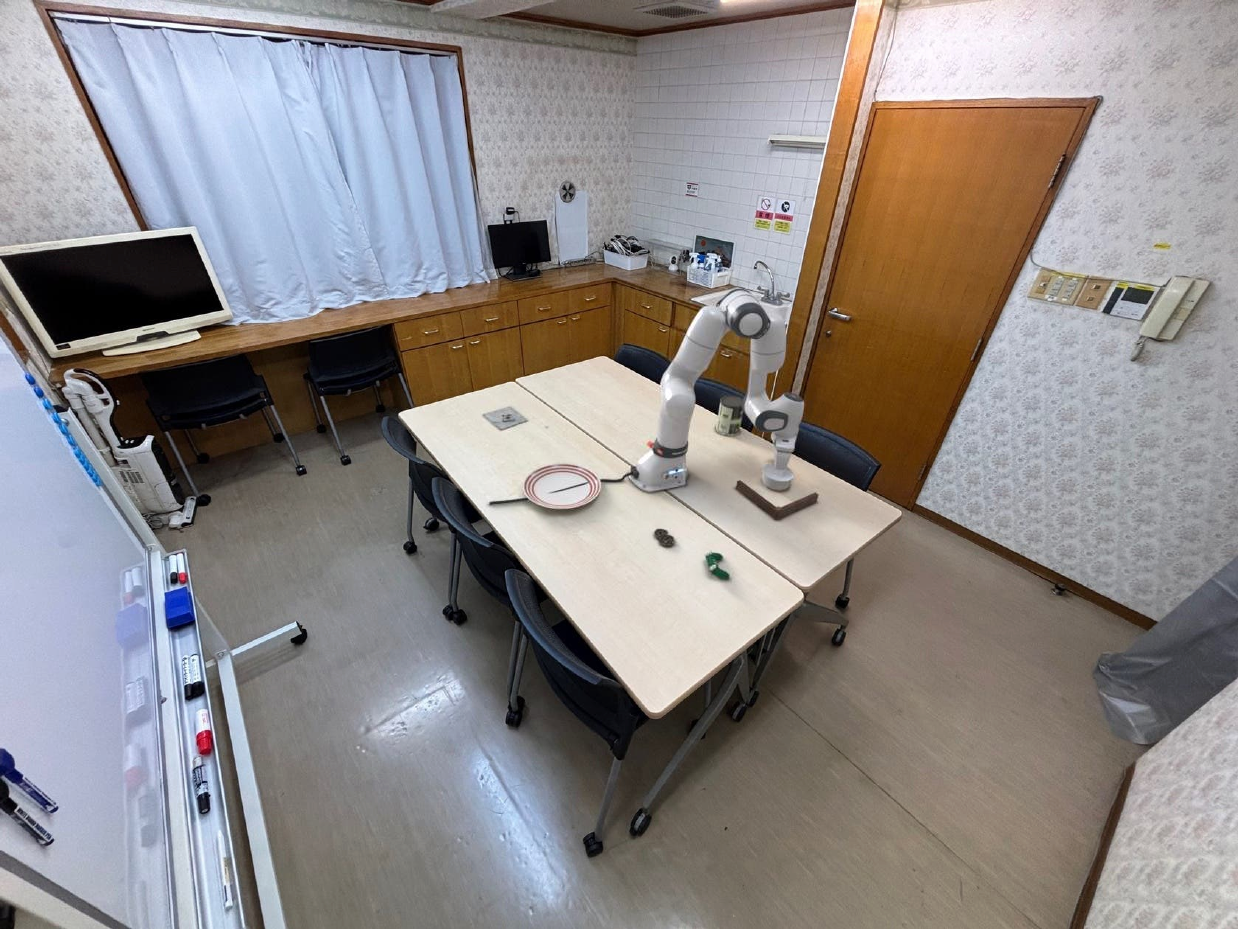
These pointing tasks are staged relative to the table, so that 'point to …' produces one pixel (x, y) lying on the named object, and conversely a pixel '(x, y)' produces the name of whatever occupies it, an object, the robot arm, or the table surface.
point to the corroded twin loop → (664, 537)
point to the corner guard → (769, 507)
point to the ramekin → (776, 477)
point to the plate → (561, 486)
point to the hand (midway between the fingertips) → (776, 466)
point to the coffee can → (729, 415)
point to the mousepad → (505, 418)
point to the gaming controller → (715, 564)
